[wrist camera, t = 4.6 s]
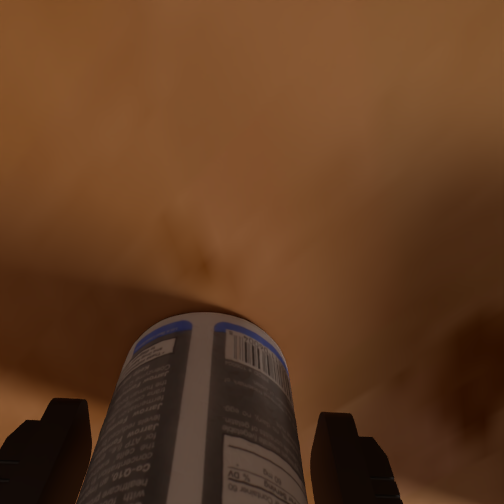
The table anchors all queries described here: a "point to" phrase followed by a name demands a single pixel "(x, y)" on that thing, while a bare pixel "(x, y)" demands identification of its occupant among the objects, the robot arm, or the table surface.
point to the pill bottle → (199, 420)
